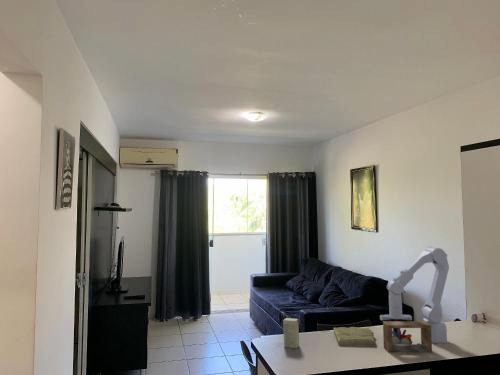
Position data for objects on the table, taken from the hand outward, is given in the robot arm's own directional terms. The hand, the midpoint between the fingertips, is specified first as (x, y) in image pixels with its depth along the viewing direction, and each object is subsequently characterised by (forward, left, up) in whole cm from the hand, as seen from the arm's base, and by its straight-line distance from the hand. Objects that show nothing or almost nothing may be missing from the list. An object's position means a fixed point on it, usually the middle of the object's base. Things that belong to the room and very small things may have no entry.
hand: (396, 335), depth 181 cm
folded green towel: (+19, -3, -3) cm, 19 cm away
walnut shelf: (0, +12, -2) cm, 13 cm away
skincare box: (+51, +7, -3) cm, 52 cm away
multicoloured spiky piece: (0, +6, -3) cm, 6 cm away
